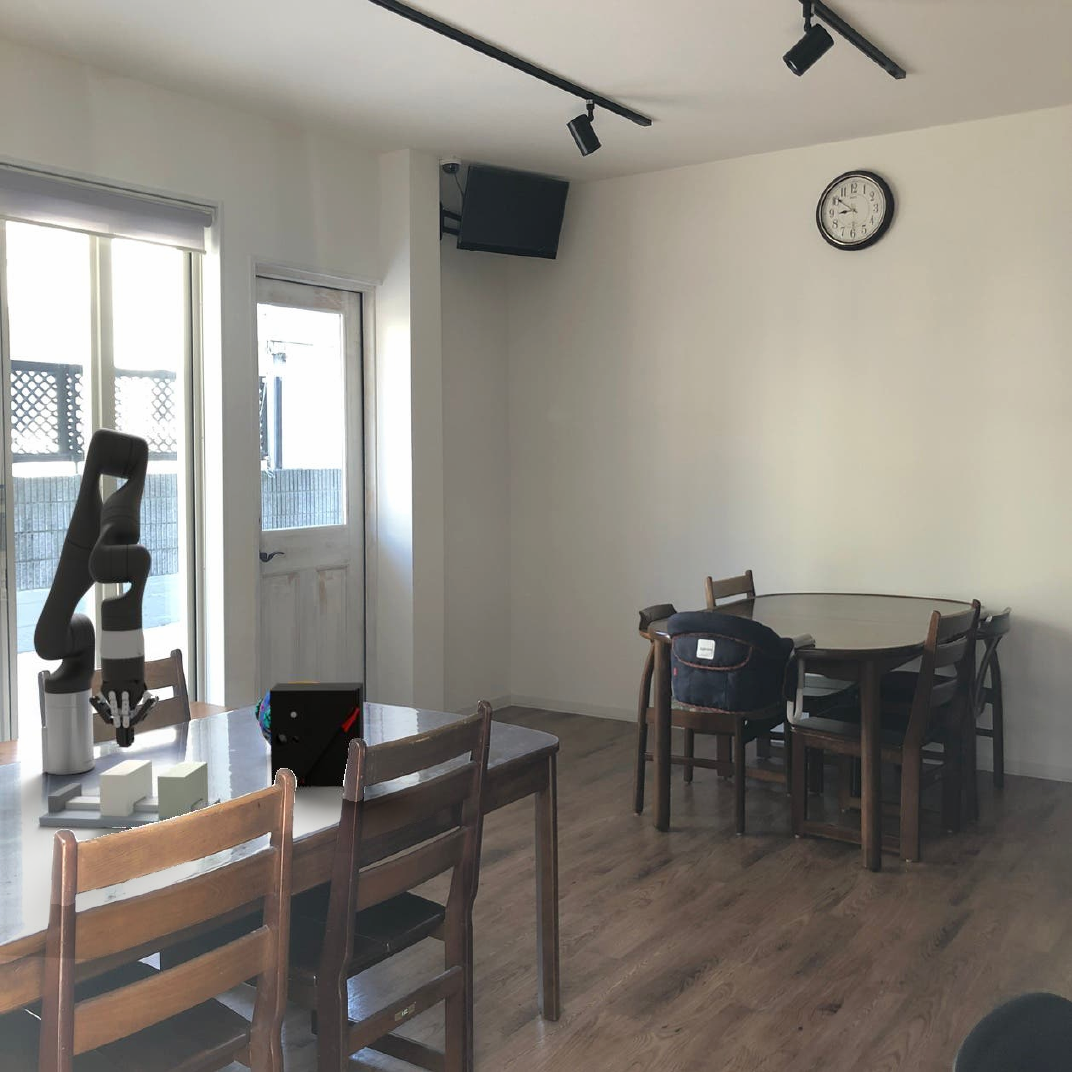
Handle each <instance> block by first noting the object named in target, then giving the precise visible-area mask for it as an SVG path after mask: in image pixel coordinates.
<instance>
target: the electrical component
mask: <svg viewBox="0 0 1072 1072" xmlns="http://www.w3.org/2000/svg"><path fill="white" fill-rule="evenodd" d="M269 691H270V730H271V745H270V765H271V766H270V768H271V769H270V770H271V772H270V774H271V776H270V777H271V779H270V780H271V782H270V783H271V786H272V785H273V784H274V780H275V775H276V772H277V770H279V769H280V768H288V769H290V770H292V771H293V773H294V774H295V776H296V780H297V788H296V789H299V788H334V787H335V788H344V787H343V780H344V774H345V769H346V764H347V759H348V748H349V743H350V741H351V740H352V739H354V738H361V739H364V740H365V734H364V733H365V729H364V727H365V724H364V723H365V722H364V720H365V718H364V717H365V716H364V715H365V714H364V711H365V710H364V682H360V681H358V682H317V683H289V682H280V683H279V682H277V683H276V684H275V685H274V686H272V688H271V689H269Z"/></svg>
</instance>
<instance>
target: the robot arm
mask: <svg viewBox="0 0 1072 1072" xmlns="http://www.w3.org/2000/svg"><path fill="white" fill-rule="evenodd" d="M149 453H150V449H149V444H148V442H147V440H146V439H145V438H144V437H141V436H139V435H135V434H131V433H129V432H128V433H127V432H123V431H121V430H120V431H119V430H115V429H111V428H106V427H99V428H97V429H96V430H95V432H93V435H92V436H91V438H90V442H89V446H88V450H87V453H86V459H85V462H84V468H83V472H82V477H81V482H80V487H79V490H78V491H79V492H78V495H77V499H76V503H75V506H74V509H73V512H72V516H71V519H70V522H69V525H68V528H67V532H66V535H65V537H64V541H63V545H62V548H61V549H62V550H61V553H60V556H59V561H58V564H57V568H56V571H55V575H54V577H53V581H52V584H51V587H50V590H49V592H48V595H47V597H46V600H45V603H44V605H43V607H42V610H41V612H40V615H39V618H38V620H37V623H36V625H35V629H34V633H33V634H34V635H33V647H34V650H35V653H36V654H37V656H38V657H39V658H40V659H42V660H44V661H49V662H51V661H60V660H61V663H60V665H59V666H58V668H56V669H55V670H54V671H53V672H52V673H50V674H49V675H47V676H46V678H45V680H44V684H43V685H44V690H43V691H44V710H45V711H44V715H45V725H44V726H42V727H41V730H40V731H41V753H42V755H41V757H42V773H48V774H51V775H59V776H63V775H72V774H73V775H74V774H80V773H84V772H87V771H90V770H92V769H94V767H95V764H94V763H95V756H94V720H93V719H94V717H93V714H94V713H93V708H94V710H95V711H96V712H97V714H98V715H99V716H100V718H101V719H102V721H103V722H104V723H105V724H106V725H113V726H114V727H115V741H116V744H117V745H118V747H119V748H123V749H125V748H130V747H132V745H133V744H134V742H135V739H136V738H135V726H136V725H138V724H141V723H143V722H144V721H145V719H146V718H147V717H148V716H149V714H150V713H151V712H152V710H153V709H154V708H155V706H156V705H157V703H158V702H159V701H160V698H159V696H158V695H157V694H156V695H153V694H152V693H151V692H149V691H148V686H147V683H146V681H145V679H146V656H145V655H146V654H145V649H146V648H145V636H144V629H143V599H144V598H143V597H144V593H145V588H146V585H147V581H148V578H149V575H150V571H151V567H152V557H151V556H152V555H151V553H150V551H149V549H148V548H147V547H146V546H144V545H142V544H139V541H140V539H141V505H142V500H143V494H144V489H145V484H146V478H147V471H148V463H149V456H150V454H149ZM102 475H104V476H108V477H114V478H119V479H124V480H127V481H126V482H125V483H124V484H123V485H122V486H120V488H118V489H117V490H116V491H115V492H113V493H112V494H111V495H110V496H109V497H108V498H107V499H106V500H105V502H104V501H103V498H102V495H101V489H100V479H101V476H102ZM95 583H99V584H102V585H103V584H104V585H107V584H108V585H110V584H111V585H112V584H130V586H129V587H130V588H129V589H128V590H127V591H125V592H124V593H121V594H117V595H114V596H113V595H112V596H109V597H106V598H104V599H103V600H102V601H101V604H100V623H101V633H100V634H101V635H100V648H99V652H100V669H101V671H100V673H101V675H100V676H101V677H100V678H101V680H102V682H101V685H100V689H99V692H97V693H96V694H95V695H93V691H92V690H93V689H92V687H93V686H92V683H93V678H94V676H95V672H96V644H97V642H96V641H97V640H96V639H97V638H96V631H95V627H94V624H93V621H92V619H90V618H89V616H87V614H83V613H80V612H79V613H78V612H77V613H75V610H76V608H77V607H78V604H79V603H80V601H82V598H83V597H84V596H85V594H86V593H87V592H88V591H89V590H90V589H91V588H92V587H93V586H94V584H95ZM141 701H142V706H141V708H140V709H139V710H138V705H139V704H140V703H141Z"/></svg>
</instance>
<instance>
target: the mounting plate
mask: <svg viewBox="0 0 1072 1072" xmlns="http://www.w3.org/2000/svg"><path fill="white" fill-rule="evenodd" d="M208 771H209V770H208V761H188V760H187V761H185V760H184V761H181V762H179V763H177V764H175V765H174V766H172V767H170V768H169V769H167V770H166V771H164V772H162V773H160V774H159V775H158V776H157V796H156V795H153V799H140V800H139V801H137V802H135V803H134V804H133V813H131V814H130V815H128V816H100V794H97V793H95V794H89V793H83V783H77V782H76V783H75V782H71V783H69V784H67V785H66V786H64V787H61V788H60V789H58V790H56V791H55V792H53V793H51V794H49V795H47V804H48V805H47V806H48V807H47V808H48V809H47V810H48V812H46V813H45V814H43V815H40V816H39V817H38V819H39V821H38V823H39V824H38V825H39V826H40V827H41V826H42V827H44V826H46V827H66V826H68V827H69V828H70V827H73V828H95V827H107V828H106V829H110V828H109V827H126V828H131V827H139V826H142V825H146V824H149V823H154V822H159V821H163V820H166V819H170V818H172V817H175V816H181V815H183V814H187V813H189V812H193V811H195V810H200V809H203V808H206V807H208V806H211V805H213V804H217V803H220V804H221V798H220V797H209V774H208Z"/></svg>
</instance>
